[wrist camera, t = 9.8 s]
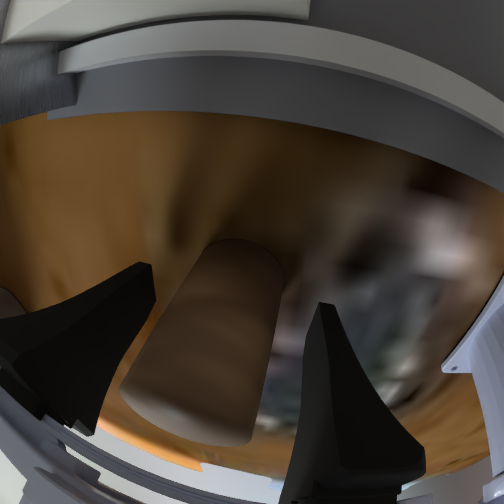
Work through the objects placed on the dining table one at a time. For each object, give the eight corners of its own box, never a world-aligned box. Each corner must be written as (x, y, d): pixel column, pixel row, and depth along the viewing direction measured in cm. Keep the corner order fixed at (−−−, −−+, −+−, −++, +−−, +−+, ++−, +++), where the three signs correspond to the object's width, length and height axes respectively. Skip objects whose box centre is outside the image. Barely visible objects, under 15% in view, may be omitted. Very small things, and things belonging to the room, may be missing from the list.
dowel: (291, 249, 11) (261, 413, 5) (275, 318, 13) (244, 454, 7) (197, 230, 11) (102, 361, 6) (197, 300, 14) (136, 420, 8)
